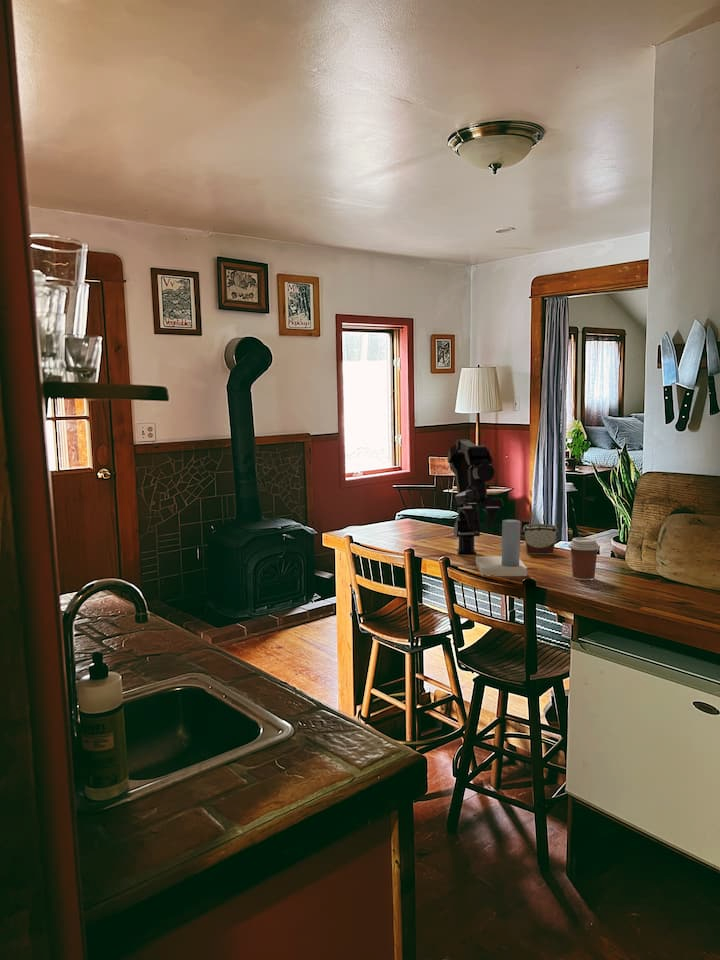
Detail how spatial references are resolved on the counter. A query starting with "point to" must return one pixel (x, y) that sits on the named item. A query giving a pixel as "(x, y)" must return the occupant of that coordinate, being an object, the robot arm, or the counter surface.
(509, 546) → the grey pillar
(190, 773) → the counter surface
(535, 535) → the food container
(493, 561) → the shelf board
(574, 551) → the coffee cup
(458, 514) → the robot arm
